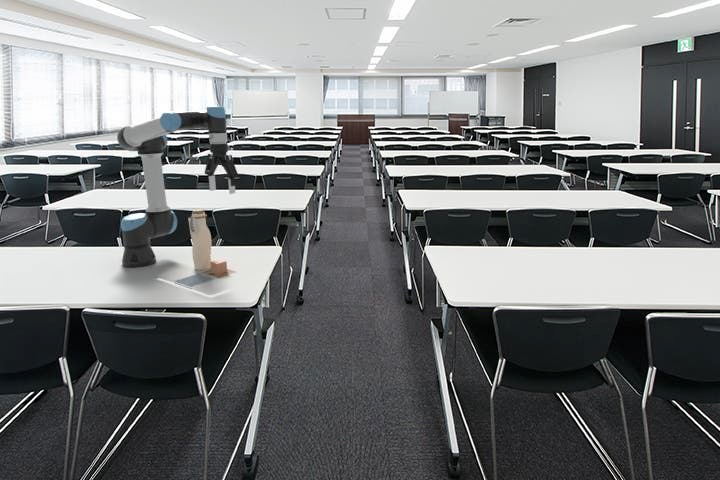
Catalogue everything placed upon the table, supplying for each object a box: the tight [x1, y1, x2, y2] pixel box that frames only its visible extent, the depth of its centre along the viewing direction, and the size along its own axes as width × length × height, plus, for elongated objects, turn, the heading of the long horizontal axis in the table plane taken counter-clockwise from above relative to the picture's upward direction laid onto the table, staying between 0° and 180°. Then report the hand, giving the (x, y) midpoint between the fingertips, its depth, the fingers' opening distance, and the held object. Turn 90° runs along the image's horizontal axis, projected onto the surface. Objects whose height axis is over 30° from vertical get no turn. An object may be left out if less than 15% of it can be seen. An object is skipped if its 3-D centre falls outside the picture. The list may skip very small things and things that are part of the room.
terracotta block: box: [210, 258, 228, 275], centre depth 234 cm, size 5×5×5 cm
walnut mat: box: [201, 268, 237, 278], centre depth 235 cm, size 12×10×1 cm
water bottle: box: [187, 208, 212, 271], centre depth 238 cm, size 10×9×28 cm
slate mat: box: [174, 273, 215, 290], centre depth 225 cm, size 12×12×1 cm
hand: (222, 192), depth 229 cm, fingers open, 13 cm apart
